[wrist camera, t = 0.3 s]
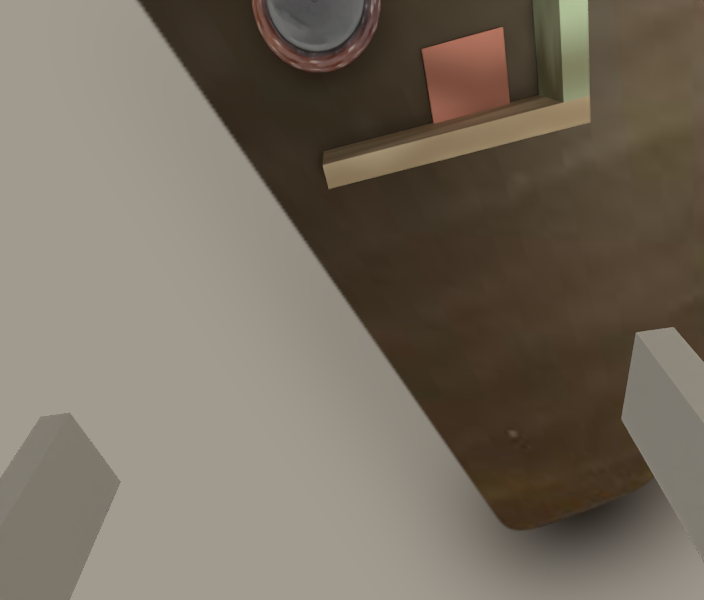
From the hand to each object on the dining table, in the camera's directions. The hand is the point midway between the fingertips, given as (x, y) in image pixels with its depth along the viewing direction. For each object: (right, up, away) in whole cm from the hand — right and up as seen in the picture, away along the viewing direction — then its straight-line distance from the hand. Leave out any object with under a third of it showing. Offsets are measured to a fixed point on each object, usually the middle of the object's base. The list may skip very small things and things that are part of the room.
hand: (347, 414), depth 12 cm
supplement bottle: (-2, +20, +18) cm, 27 cm away
